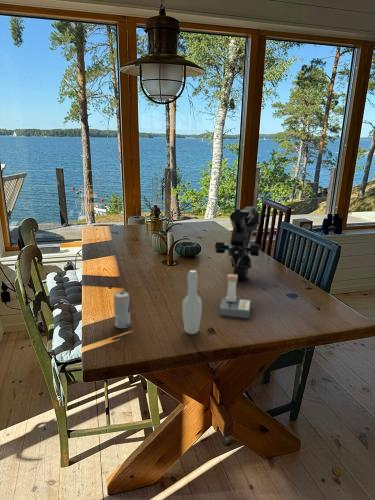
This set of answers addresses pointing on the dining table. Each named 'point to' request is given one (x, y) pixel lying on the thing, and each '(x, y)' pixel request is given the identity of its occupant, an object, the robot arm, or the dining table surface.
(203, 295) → the dining table surface
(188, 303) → the faceted bottle
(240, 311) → the switch unit
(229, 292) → the slider knob
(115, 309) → the energy drink
